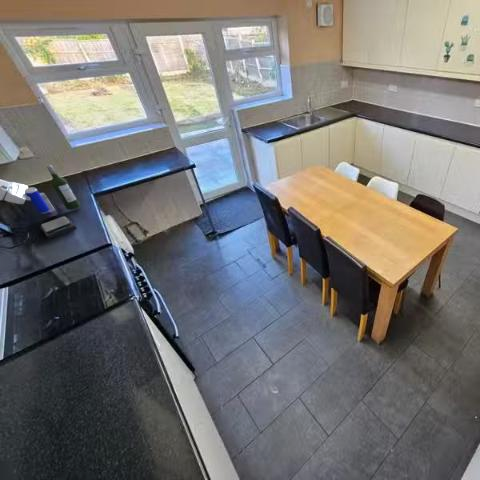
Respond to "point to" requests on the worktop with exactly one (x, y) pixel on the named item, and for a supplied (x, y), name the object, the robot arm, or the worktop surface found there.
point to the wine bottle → (63, 190)
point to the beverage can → (37, 200)
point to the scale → (60, 230)
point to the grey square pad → (55, 224)
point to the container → (49, 205)
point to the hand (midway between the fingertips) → (37, 198)
